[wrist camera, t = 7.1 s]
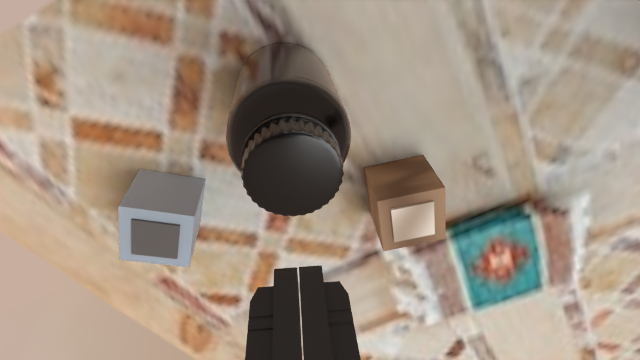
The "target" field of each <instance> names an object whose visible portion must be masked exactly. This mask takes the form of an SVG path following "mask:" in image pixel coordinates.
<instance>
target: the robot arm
mask: <svg viewBox="0 0 640 360" xmlns="http://www.w3.org/2000/svg"><path fill="white" fill-rule="evenodd" d="M299 276H300V295H301V314H302V333H303V351H304V360H360V355H359V349H358V344H357V339H356V333H355V328H354V324H353V317H352V312H351V306H350V301H349V296H348V293H347V292H346V290H345V289H344V287H343V286H342V285H341V283H340V282H339V281H337V282H324V281H323V273H322V266H309V267H299ZM245 360H302V347H301V326H300V307H299V291H298V275H297V268H283V269H274V286H272V287H258V289H257V290H256V292H255V294H254V296H253V297H252V299H251V301H250V310H249V321H248V333H247V345H246V357H245Z"/></svg>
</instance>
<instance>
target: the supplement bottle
mask: <svg viewBox="0 0 640 360" xmlns="http://www.w3.org/2000/svg"><path fill="white" fill-rule="evenodd" d="M226 141H227V148H228V151H229V155H230V157H231V159H232V161H233V163H234V165H235V166H236V168H237V169H238V170H239V172H240V173H241V177H242V180H243V186H244V188H245V189H246V190H247V194H248V195H249V196H250V197H251V198H252V201H253V202H255V203H257V204H258V206H259V207H261V208H264V209H265V210H266V211H268V212H273V213H274V214H281V215H283V216H289V215H290V216H297V215H305V214H307V213H312V212H314V211H315V210H318V209H321V208H322V206H323V205H326V204H328V202H329V200H331V199H332V198H334V196H335V193H336V192H338V191H339V186H340V185H341V183H342V177H343V174H344V172H343V163H344V161H345V159H346V157H347V155H348V152H349V148H350V142H351V128H350V123H349V119H348V116H347V113H346V111H345V108H344V106H343V104H342V101H341V99H340V97H339V95H338V92H337V90H336V88H335V85H334V83H333V81H332V78H331V76H330V74H329V72H328V70H327V68H326V66H325V65H324V63H323V62H322V61H321V60H320V59H319V57H317V56H316V55H315V54H314V53H313V52H311V51H310V50H308V49H306V48H304V47H302V46H299V45H296V44H290V43H277V44H272V45H268V46H266V47H263V48H261V49H259V50H258V51H256V52H255V53H254V54H252V55H251V56H250V57H249V58H248V59H247V61H246V62H245V63H244V65H243V67H242V68H241V70H240V73H239V75H238V79H237V82H236V87H235V91H234V96H233V100H232V105H231V109H230V114H229V118H228V123H227V132H226Z"/></svg>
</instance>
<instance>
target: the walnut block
mask: <svg viewBox="0 0 640 360" xmlns="http://www.w3.org/2000/svg"><path fill="white" fill-rule="evenodd" d="M364 169H365V176H366V183H367V190H368V197H369V204H370V211H371V216H372V219H373V222H374V224H375V227H376V230H377V233H378V236H379V239H380V242H381V245H382V248H383V251H387V250H392V249H397V248H402V247H407V246H412V245H417V244H421V243H426V242H431V241H436V240H441V239H445V187H444V185H443V184H442V182H441V181H440V179H439V178H438V176H437V175H436V173H435V172H434V170H433V169H432V167H431V166H430V164H429V163H428V161H427V160H426V158H425V157H424V155H421V156H416V157H411V158H406V159H401V160H396V161H392V162H387V163H382V164H377V165H372V166H368V167H364Z"/></svg>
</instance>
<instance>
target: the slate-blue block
mask: <svg viewBox="0 0 640 360" xmlns="http://www.w3.org/2000/svg"><path fill="white" fill-rule="evenodd" d="M204 187H205V179H201V178H195V177H188V176H182V175H176V174H169V173H163V172H157V171H150V170H144V169H140V170H139V171H138V173H137V175H136V176H135V178H134V180H133V182H132V183H131V185H130V187H129V188H128V190H127V192H126V194H125V195H124V197H123V199H122V200H121V202H120V204H119V206H118V223H119V260H127V261H136V262H145V263H155V264H164V265H173V266H182V267H189V266H190V262H191V258H192V254H193V250H194V247H195V243H196V239H197V235H198V231H199V228H200V221H201V212H202V204H203V195H204Z"/></svg>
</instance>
